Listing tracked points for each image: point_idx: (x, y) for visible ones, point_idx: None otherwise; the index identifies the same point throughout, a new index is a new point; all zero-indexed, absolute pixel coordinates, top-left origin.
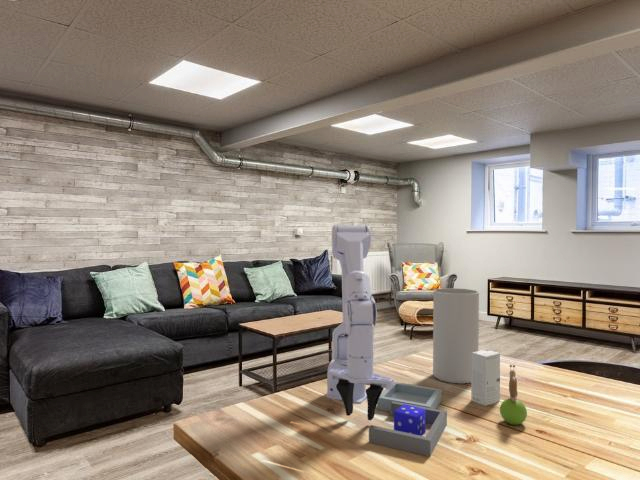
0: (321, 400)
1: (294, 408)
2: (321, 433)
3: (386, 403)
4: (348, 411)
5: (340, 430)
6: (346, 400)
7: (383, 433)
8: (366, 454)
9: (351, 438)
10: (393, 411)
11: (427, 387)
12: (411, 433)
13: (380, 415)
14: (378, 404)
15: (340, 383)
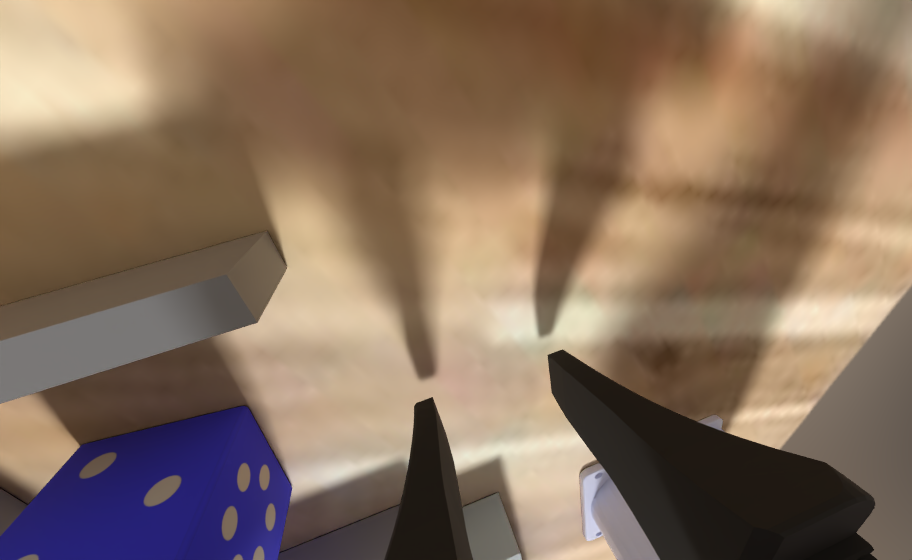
0: (723, 384)
1: (812, 251)
2: (592, 109)
3: None
4: (563, 369)
5: (516, 230)
6: (625, 417)
7: (84, 309)
8: (92, 38)
9: (397, 193)
10: None
11: None
12: (86, 474)
13: None
14: (500, 517)
15: (831, 546)
